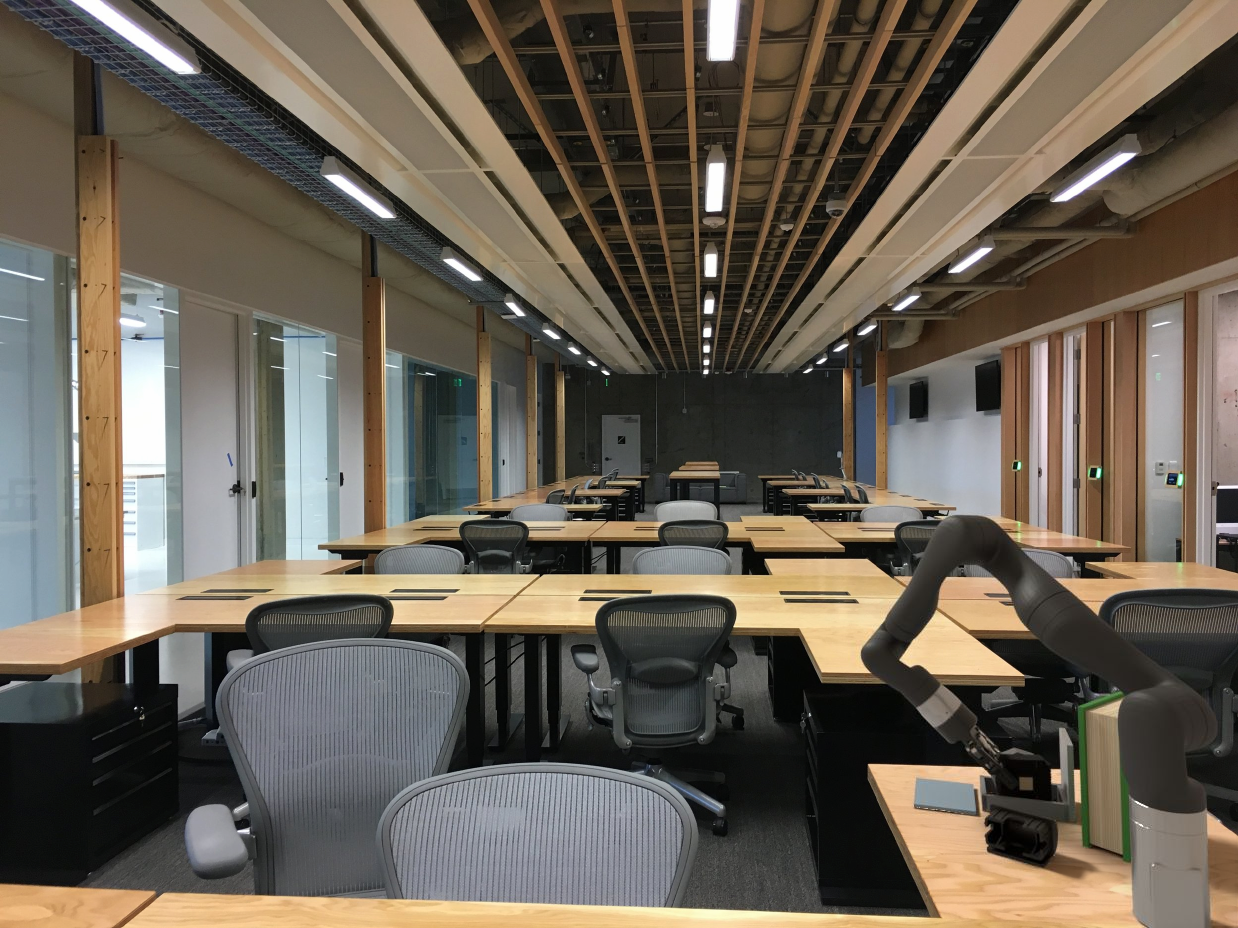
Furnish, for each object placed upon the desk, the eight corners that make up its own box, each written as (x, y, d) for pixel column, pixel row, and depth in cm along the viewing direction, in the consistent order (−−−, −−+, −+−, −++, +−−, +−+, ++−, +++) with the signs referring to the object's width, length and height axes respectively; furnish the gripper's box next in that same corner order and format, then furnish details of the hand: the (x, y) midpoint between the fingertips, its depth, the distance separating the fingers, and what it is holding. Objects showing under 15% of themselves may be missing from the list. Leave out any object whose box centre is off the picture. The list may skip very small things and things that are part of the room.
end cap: (1059, 854, 135) (1057, 813, 135) (1046, 869, 130) (1045, 828, 130) (997, 836, 142) (996, 798, 142) (982, 851, 137) (981, 811, 137)
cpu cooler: (1045, 799, 157) (1043, 747, 157) (1056, 811, 151) (1054, 758, 151) (989, 797, 158) (987, 746, 158) (998, 809, 153) (996, 756, 153)
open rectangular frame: (1075, 822, 146) (1073, 745, 147) (982, 810, 152) (980, 737, 152) (1067, 799, 156) (1064, 728, 156) (980, 789, 162) (977, 720, 162)
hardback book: (1129, 862, 131) (1124, 716, 131) (1082, 845, 137) (1077, 706, 138) (1176, 833, 141) (1171, 697, 141) (1131, 819, 147) (1126, 688, 147)
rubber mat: (976, 815, 150) (975, 811, 150) (913, 807, 154) (913, 803, 154) (973, 787, 163) (973, 783, 163) (916, 781, 167) (916, 777, 167)
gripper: (960, 710, 152) (1032, 781, 147) (959, 691, 165) (1025, 755, 160) (931, 735, 154) (1001, 806, 149) (932, 714, 167) (997, 778, 162)
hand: (1013, 779), depth 155 cm, fingers closed on cpu cooler, 6 cm apart
